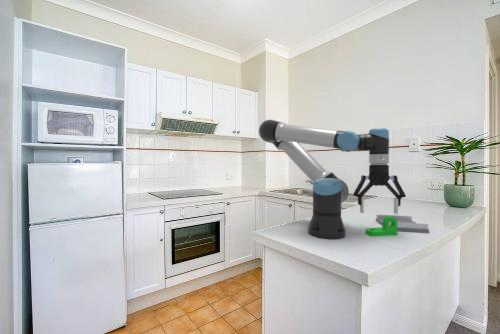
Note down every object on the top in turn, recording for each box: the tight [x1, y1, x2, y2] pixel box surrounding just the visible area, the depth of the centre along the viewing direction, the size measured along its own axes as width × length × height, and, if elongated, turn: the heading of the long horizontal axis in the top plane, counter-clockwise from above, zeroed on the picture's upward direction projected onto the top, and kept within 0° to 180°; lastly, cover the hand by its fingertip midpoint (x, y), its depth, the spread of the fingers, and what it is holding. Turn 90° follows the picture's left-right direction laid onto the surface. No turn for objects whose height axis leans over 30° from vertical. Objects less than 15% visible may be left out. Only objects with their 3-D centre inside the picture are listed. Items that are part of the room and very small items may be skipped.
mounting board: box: [375, 218, 430, 234], centre depth 113 cm, size 16×18×2 cm
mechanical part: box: [365, 216, 398, 238], centre depth 102 cm, size 12×6×8 cm, turn 101°
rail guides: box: [375, 214, 429, 229], centre depth 113 cm, size 16×16×2 cm
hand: (378, 213), depth 103 cm, fingers open, 13 cm apart
